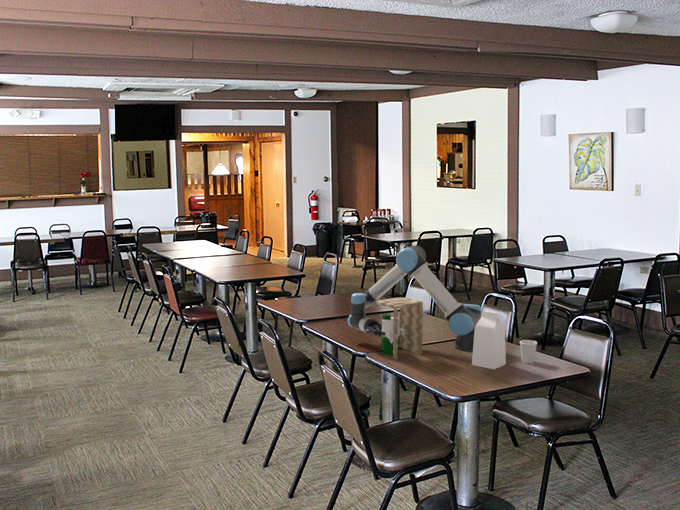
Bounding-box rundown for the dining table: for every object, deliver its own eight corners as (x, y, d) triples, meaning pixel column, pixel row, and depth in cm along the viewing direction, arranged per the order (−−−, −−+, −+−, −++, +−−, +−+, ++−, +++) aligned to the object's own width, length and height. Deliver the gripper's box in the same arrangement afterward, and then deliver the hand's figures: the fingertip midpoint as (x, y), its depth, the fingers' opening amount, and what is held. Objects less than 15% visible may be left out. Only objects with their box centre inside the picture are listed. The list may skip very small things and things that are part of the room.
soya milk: (383, 350, 363) (383, 312, 361) (400, 351, 361) (400, 313, 359) (380, 355, 355) (380, 316, 352) (398, 355, 353) (398, 317, 350)
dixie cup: (523, 364, 338) (523, 344, 336) (516, 359, 346) (516, 340, 344) (539, 363, 339) (540, 343, 338) (532, 359, 347) (532, 339, 346)
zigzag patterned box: (375, 352, 360) (375, 300, 356) (401, 347, 370) (402, 296, 367) (395, 359, 347) (395, 305, 344) (422, 353, 357) (422, 301, 354)
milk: (471, 364, 337) (473, 312, 334) (483, 359, 346) (485, 308, 343) (494, 369, 330) (495, 315, 326) (505, 364, 338) (507, 311, 335)
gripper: (384, 329, 378) (412, 338, 360) (353, 335, 366) (380, 344, 347) (384, 316, 377) (412, 323, 359) (353, 321, 365) (380, 329, 346)
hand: (397, 333), depth 353 cm, fingers open, 8 cm apart
